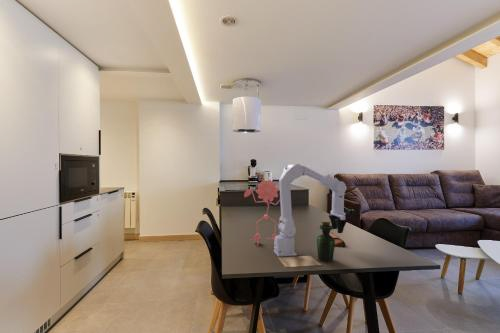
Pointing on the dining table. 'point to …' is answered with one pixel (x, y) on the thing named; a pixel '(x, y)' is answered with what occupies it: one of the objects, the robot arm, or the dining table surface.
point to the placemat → (298, 261)
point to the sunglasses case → (337, 240)
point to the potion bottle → (325, 243)
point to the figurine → (265, 200)
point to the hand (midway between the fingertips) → (337, 230)
